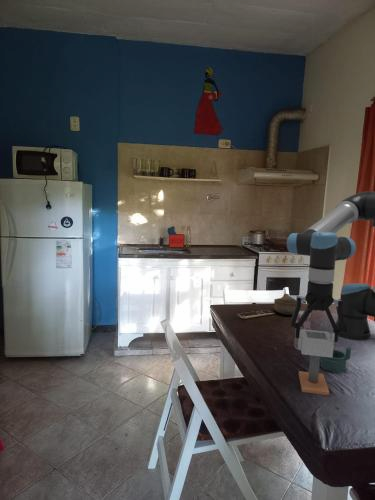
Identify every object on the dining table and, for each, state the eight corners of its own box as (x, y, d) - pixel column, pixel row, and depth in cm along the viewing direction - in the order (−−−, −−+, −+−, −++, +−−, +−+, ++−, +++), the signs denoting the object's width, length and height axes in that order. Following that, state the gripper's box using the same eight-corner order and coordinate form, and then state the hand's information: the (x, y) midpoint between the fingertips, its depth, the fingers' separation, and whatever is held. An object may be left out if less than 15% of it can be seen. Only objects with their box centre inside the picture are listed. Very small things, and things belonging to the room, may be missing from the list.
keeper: (323, 376, 121) (325, 347, 119) (328, 395, 109) (331, 363, 108) (298, 373, 122) (300, 345, 121) (301, 391, 111) (304, 360, 109)
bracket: (315, 361, 132) (317, 339, 131) (339, 361, 133) (341, 339, 131) (326, 373, 123) (328, 349, 122) (352, 373, 124) (354, 349, 122)
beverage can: (310, 347, 145) (312, 312, 143) (307, 352, 140) (309, 315, 138) (296, 344, 148) (298, 309, 146) (292, 349, 143) (294, 313, 141)
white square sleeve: (332, 357, 109) (333, 342, 108) (301, 354, 111) (303, 338, 110) (327, 346, 117) (328, 331, 117) (299, 343, 119) (300, 329, 119)
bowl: (266, 304, 199) (272, 288, 198) (290, 312, 199) (296, 295, 198) (273, 314, 181) (280, 296, 180) (299, 322, 182) (306, 304, 180)
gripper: (354, 281, 112) (348, 348, 115) (284, 276, 117) (280, 341, 120) (360, 286, 105) (354, 358, 108) (285, 281, 110) (280, 350, 113)
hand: (315, 349), depth 114 cm, fingers closed on white square sleeve, 9 cm apart
